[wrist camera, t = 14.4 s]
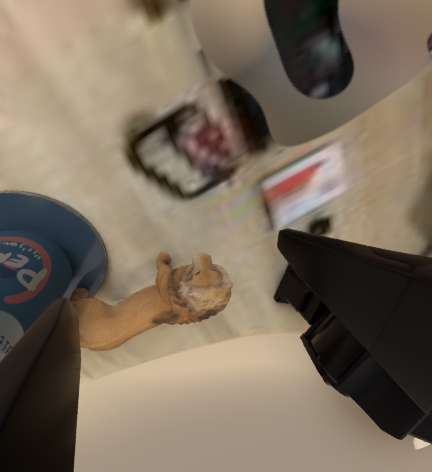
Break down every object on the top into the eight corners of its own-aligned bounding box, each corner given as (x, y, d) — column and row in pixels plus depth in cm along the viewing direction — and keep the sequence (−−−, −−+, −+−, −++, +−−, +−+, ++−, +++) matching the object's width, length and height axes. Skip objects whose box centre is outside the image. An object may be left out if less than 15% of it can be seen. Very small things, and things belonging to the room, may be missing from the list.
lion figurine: (192, 222, 22) (226, 259, 14) (212, 262, 24) (252, 313, 16) (49, 301, 20) (-6, 398, 12) (87, 337, 22) (63, 438, 14)
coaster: (116, 210, 19) (116, 212, 19) (97, 318, 23) (96, 323, 22) (-68, 170, 15) (-76, 171, 15) (-57, 310, 19) (-63, 315, 18)
